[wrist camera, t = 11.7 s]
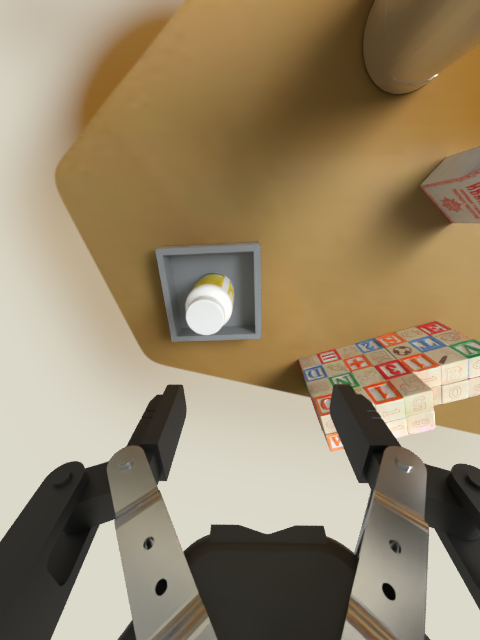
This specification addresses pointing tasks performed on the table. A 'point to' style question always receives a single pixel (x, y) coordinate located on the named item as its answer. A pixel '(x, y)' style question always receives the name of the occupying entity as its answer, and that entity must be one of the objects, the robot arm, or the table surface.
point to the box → (198, 260)
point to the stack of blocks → (397, 376)
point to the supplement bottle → (210, 303)
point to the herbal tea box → (457, 186)
